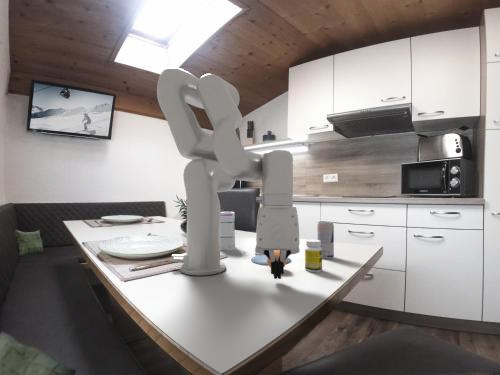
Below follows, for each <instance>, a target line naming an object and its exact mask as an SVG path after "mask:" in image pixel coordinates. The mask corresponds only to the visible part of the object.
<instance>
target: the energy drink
mask: <svg viewBox="0 0 500 375" xmlns="http://www.w3.org/2000/svg"><path fill="white" fill-rule="evenodd" d="M334 226H335V225H334V222H333V221H322V220H321V221H317V240H320V241H321V246H320V247H321V248H322V260H331V259H334V257H335V255H334V254H335V248H334V247H335V242H334V241H335V237H334V236H335V233H334V232H335V230H334V228H335V227H334Z"/></svg>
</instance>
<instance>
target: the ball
mask: <svg viewBox="0 0 500 375" xmlns="http://www.w3.org/2000/svg"><path fill="white" fill-rule="evenodd" d="M274 254H275V257H276V260H278V257H279V254H280V251H278V250H275V251H274ZM286 261H287V260H286V259H285V261H284V268H285V267H286V265H287V264H286ZM267 263H268V265H267V266H268V267H269V268H270V269H271V261H270V259H269V258H268V257H267Z"/></svg>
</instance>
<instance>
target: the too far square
mask: <svg viewBox="0 0 500 375" xmlns="http://www.w3.org/2000/svg"><path fill="white" fill-rule="evenodd" d="M274 251H275V250H274ZM278 251H280V250H278ZM254 253H255V254H254V256H259V255H265V254H260V253H257V252H256V251H255V250H254Z"/></svg>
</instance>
